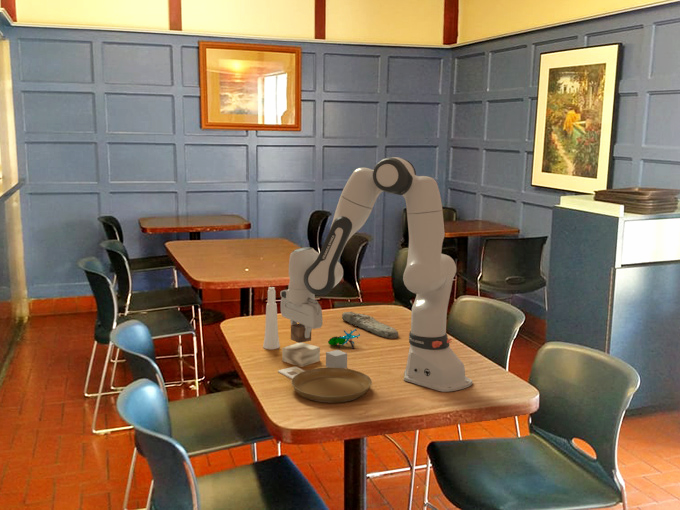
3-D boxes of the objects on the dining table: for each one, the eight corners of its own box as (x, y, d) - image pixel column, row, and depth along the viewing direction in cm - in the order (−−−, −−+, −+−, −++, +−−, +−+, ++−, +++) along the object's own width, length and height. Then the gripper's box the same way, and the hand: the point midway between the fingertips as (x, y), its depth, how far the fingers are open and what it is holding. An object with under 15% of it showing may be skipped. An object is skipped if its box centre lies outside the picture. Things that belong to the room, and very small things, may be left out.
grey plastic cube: (347, 368, 224) (347, 353, 223) (334, 370, 221) (335, 356, 220) (337, 364, 228) (338, 349, 227) (325, 366, 225) (326, 352, 224)
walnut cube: (311, 340, 229) (311, 326, 228) (298, 342, 226) (299, 328, 225) (302, 337, 233) (303, 322, 232) (290, 339, 230) (290, 325, 229)
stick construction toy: (359, 336, 253) (357, 324, 247) (365, 351, 248) (363, 338, 242) (328, 346, 251) (325, 334, 246) (333, 361, 247) (331, 349, 241)
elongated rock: (383, 344, 256) (404, 342, 262) (385, 331, 255) (406, 328, 261) (334, 318, 285) (354, 317, 290) (335, 306, 284) (355, 305, 290)
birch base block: (319, 361, 231) (319, 347, 230) (301, 367, 224) (302, 353, 223) (300, 355, 237) (300, 342, 236) (282, 361, 230) (282, 347, 229)
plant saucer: (321, 413, 187) (321, 401, 187) (276, 387, 206) (276, 376, 206) (387, 395, 201) (388, 384, 201) (340, 372, 220) (340, 362, 220)
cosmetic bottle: (271, 350, 241) (272, 290, 237) (259, 347, 245) (259, 287, 241) (283, 346, 246) (283, 287, 242) (271, 343, 249) (271, 285, 246)
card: (313, 376, 215) (313, 374, 215) (295, 380, 211) (295, 378, 211) (295, 367, 223) (295, 366, 223) (277, 371, 219) (277, 370, 219)
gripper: (327, 300, 221) (326, 341, 223) (292, 288, 237) (292, 327, 239) (311, 302, 217) (311, 344, 219) (277, 290, 233) (277, 329, 235)
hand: (301, 335), depth 229 cm, fingers closed on walnut cube, 5 cm apart
